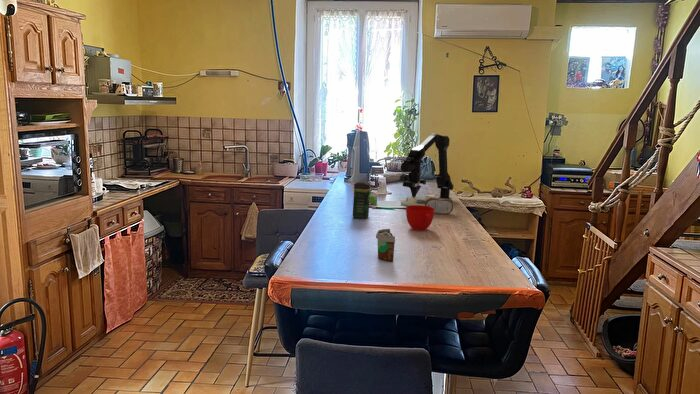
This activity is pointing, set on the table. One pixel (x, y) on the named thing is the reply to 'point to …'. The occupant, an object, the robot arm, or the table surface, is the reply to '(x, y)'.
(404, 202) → the box
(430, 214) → the ceramic cup
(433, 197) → the tile
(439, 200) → the tin
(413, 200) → the tile
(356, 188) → the coffee jar
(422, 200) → the plate
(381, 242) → the food container
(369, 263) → the table surface
